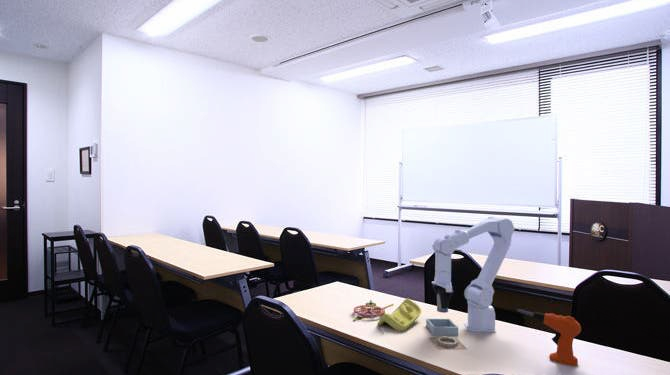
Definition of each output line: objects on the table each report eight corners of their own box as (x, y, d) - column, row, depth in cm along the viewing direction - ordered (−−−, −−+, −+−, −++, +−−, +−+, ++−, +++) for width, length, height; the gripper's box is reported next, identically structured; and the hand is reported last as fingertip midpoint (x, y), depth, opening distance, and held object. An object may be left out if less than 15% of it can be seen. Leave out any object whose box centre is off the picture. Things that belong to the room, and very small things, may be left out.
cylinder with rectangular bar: (436, 308, 143) (437, 290, 143) (447, 309, 142) (447, 291, 143) (437, 312, 139) (437, 293, 140) (448, 313, 139) (448, 294, 139)
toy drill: (513, 342, 128) (519, 299, 127) (577, 365, 118) (585, 318, 117) (510, 346, 125) (517, 303, 124) (576, 370, 114) (585, 323, 113)
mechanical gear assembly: (339, 317, 155) (369, 328, 145) (339, 307, 154) (370, 317, 145) (378, 302, 178) (407, 310, 168) (379, 293, 178) (407, 301, 168)
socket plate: (456, 338, 134) (456, 334, 134) (467, 350, 124) (467, 346, 124) (428, 338, 134) (428, 334, 134) (437, 350, 124) (437, 346, 124)
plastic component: (404, 327, 138) (382, 311, 143) (396, 343, 140) (375, 326, 145) (425, 310, 154) (404, 295, 159) (418, 324, 156) (398, 309, 161)
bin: (449, 326, 146) (449, 318, 146) (458, 336, 137) (458, 327, 137) (426, 326, 146) (426, 318, 146) (433, 335, 136) (433, 327, 136)
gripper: (427, 266, 148) (426, 300, 148) (438, 274, 134) (438, 312, 134) (444, 266, 148) (443, 300, 148) (458, 274, 134) (457, 312, 134)
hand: (442, 306), depth 141 cm, fingers closed on cylinder with rectangular bar, 4 cm apart
